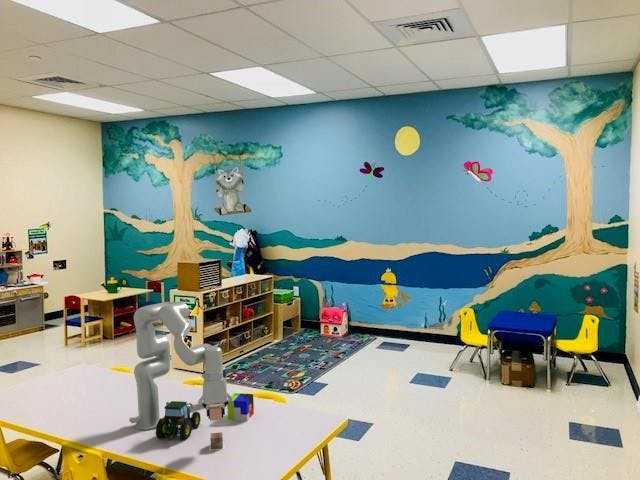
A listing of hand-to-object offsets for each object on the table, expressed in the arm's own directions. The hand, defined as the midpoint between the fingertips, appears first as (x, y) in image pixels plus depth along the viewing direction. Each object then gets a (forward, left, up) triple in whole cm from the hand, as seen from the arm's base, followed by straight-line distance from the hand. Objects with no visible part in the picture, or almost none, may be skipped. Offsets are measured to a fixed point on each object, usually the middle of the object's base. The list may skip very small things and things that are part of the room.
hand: (216, 416), depth 228 cm
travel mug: (0, +56, -14) cm, 58 cm away
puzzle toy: (+11, +32, -14) cm, 37 cm away
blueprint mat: (-1, 0, -14) cm, 14 cm away
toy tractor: (-18, +19, -14) cm, 30 cm away
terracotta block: (0, 0, -1) cm, 1 cm away
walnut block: (0, 0, -13) cm, 13 cm away
